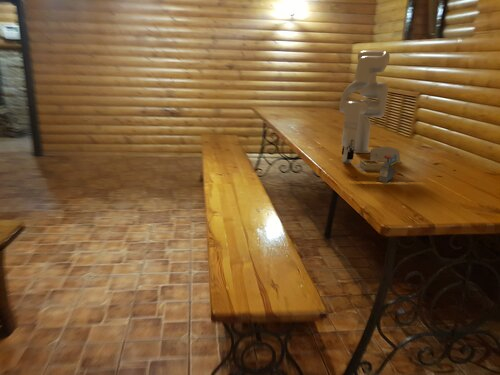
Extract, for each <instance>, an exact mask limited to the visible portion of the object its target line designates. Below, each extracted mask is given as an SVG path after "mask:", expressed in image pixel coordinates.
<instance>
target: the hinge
mask: <svg viewBox="0 0 500 375" xmlns="http://www.w3.org/2000/svg"><path fill="white" fill-rule="evenodd" d="M400 154H401V153H400V150H399V149H397V148H395V147H392V146H379V147H374V148H372V149H370V155H369V160H376V161H377V162H387V158H384V156H385V155H389V156H393V157H394V156H396V155H397V159H396V163H401V155H400ZM393 160H394V159H393ZM393 160H392V161H393ZM389 162H390V159H389Z"/></svg>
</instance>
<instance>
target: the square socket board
mask: <svg viewBox="0 0 500 375" xmlns="http://www.w3.org/2000/svg"><path fill="white" fill-rule="evenodd" d="M392 157H393V156H389V155H385V156H384V158H387V162H389V159H390V158H392ZM387 162H379V161H376V160H370V159H360V161H359V164H360V167H361V168H362V169H363V170H365V171H380V170H381V166H382V165H383V164H385V163H387Z"/></svg>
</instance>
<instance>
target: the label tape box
mask: <svg viewBox="0 0 500 375" xmlns="http://www.w3.org/2000/svg"><path fill="white" fill-rule="evenodd" d="M393 159H394V160H393ZM396 159H397V155H396V156H394V157H392V158H390V162H387V163H385V164H383V165H382V166H381V171H380V172H379V177H378V182H379V183H382V184H388V183H389V182H390V180H392V179H394V175H395V172H394V170H395V169H396V164H397V162H396ZM392 160H393V161H392ZM395 171H396V170H395Z"/></svg>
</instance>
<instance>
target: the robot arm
mask: <svg viewBox="0 0 500 375" xmlns="http://www.w3.org/2000/svg"><path fill="white" fill-rule="evenodd" d="M389 62H390V52H389V51H387V50H370V49H369V50H362V51H360V52H358V53H357V65H356V69H355V74H354V78H353V81H352V82H351V83H350V84H348V85H347V87H346V88H344V90H343V91H342V94H341V97H340V102H339V112H341V113H342V114H344V119H343V131H342V136H341V146H342V149H341V150H342V151H341V155H342V156H343V154H344V147H346V148H347V147H348V154H347V159H350V160H351V161H352V160H354V155H355V154H356V153H357V154H369V153H371V149H369V144H370V143H369V142H370V141H369V140H370V134H371V126H372V123H371V120H370V117H371V118H382V117H384V116H385V114H386V109H387V108H386V107H387V102H388V101H387V100H388V92H389V87H388V86H389V85H388V84H387V83H386V82H384V81H377V75H378V74H377V73H381V74H382V73H383V72H384V71H385V70H386V68H387V66H388V65H389ZM357 91H359V95H360V96H361V98H367V99H360V100H359V99H348V97H349V96H350V95H351V94H354V93H355V92H357ZM371 99H377V100H371ZM350 148H351V149H350Z"/></svg>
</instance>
